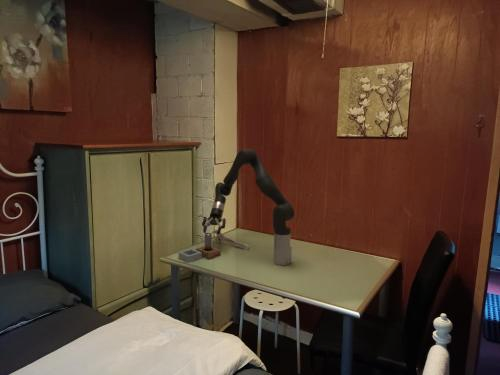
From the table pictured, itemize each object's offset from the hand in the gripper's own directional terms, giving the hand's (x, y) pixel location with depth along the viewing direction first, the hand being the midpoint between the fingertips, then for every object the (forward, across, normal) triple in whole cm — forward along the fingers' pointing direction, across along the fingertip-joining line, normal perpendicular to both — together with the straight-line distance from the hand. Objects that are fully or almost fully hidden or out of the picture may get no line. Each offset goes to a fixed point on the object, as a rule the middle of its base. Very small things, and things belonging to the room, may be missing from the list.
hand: (211, 233), depth 220 cm
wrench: (-2, +7, +20) cm, 21 cm away
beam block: (+12, 0, +5) cm, 13 cm away
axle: (+12, 0, +5) cm, 13 cm away
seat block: (+18, -8, -1) cm, 20 cm away
